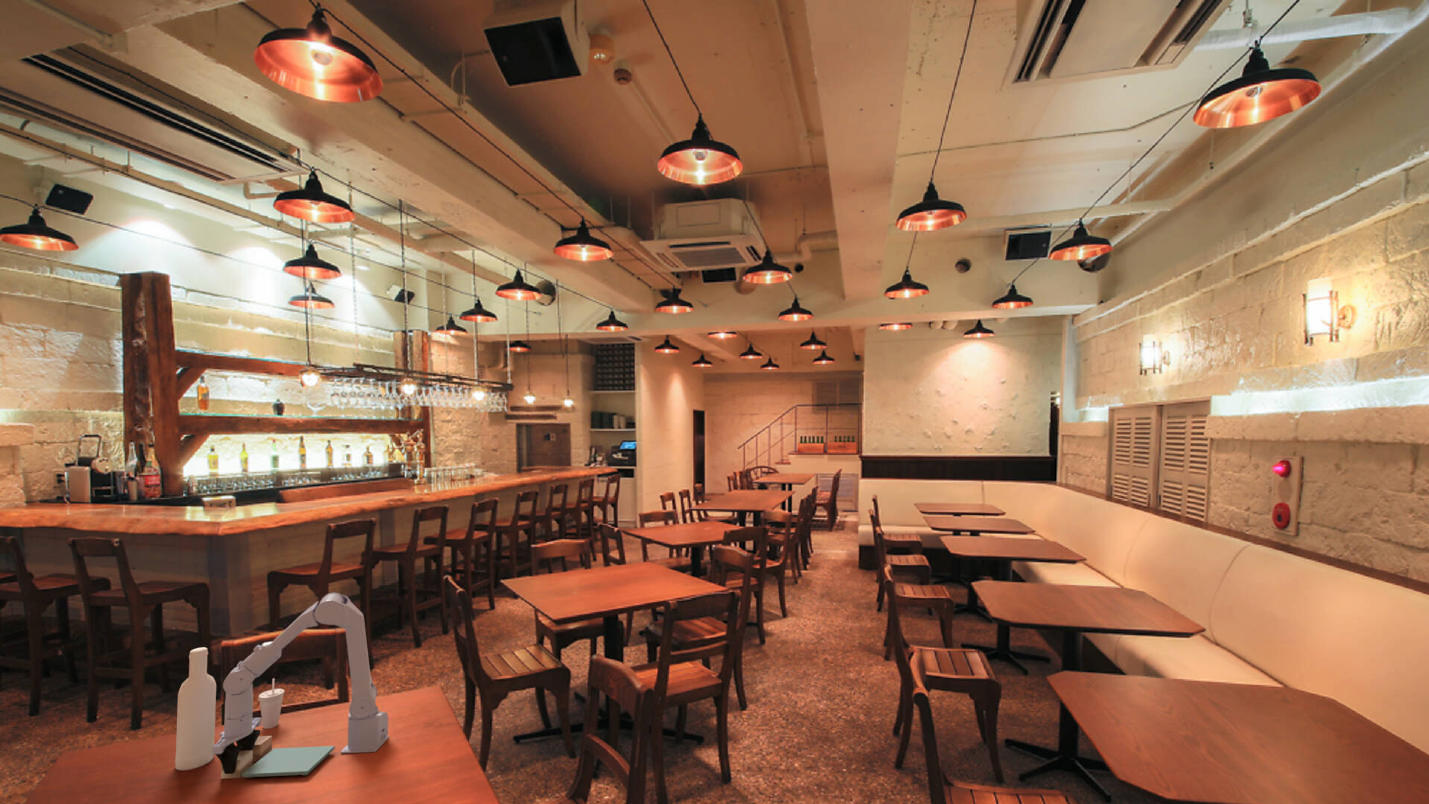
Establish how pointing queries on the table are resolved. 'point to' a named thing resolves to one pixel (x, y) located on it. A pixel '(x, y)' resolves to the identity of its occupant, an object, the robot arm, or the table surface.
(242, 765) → the cream block
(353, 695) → the robot arm
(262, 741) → the brown block
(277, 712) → the smoothie
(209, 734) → the bottle
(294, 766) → the teal board
